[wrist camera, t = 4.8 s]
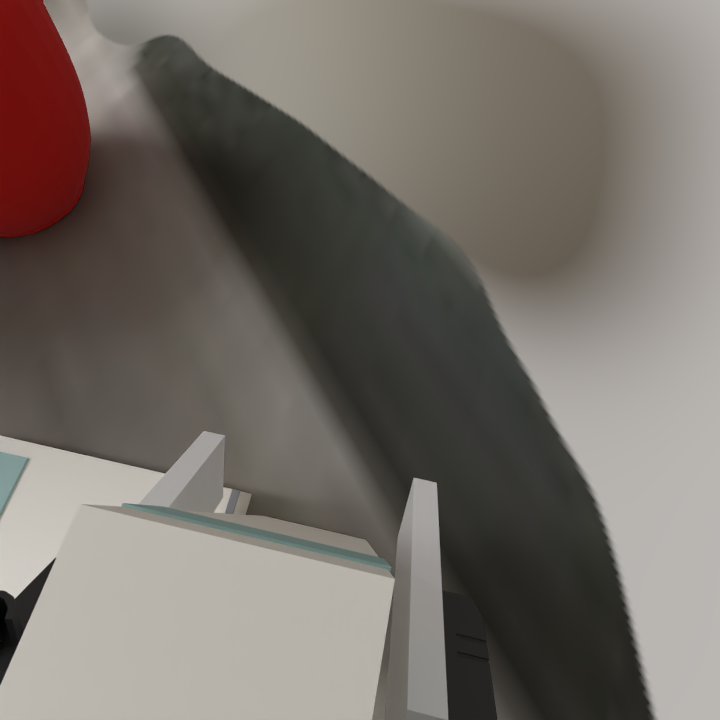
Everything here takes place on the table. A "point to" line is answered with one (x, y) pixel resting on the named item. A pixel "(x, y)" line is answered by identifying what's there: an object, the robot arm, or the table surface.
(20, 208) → the ceramic cup
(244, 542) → the stub
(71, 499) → the strip
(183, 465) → the robot arm
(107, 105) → the table surface
